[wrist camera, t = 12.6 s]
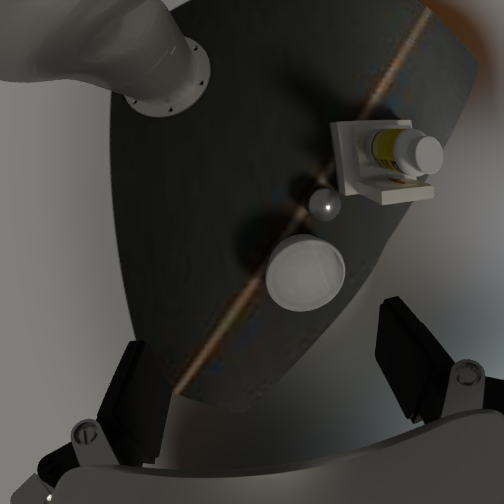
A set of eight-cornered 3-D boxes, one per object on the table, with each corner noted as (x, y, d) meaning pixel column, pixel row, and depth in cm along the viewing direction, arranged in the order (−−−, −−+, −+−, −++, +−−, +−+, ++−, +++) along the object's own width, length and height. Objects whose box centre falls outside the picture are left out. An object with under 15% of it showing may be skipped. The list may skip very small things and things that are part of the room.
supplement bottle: (364, 161, 32) (404, 170, 23) (373, 122, 30) (415, 119, 21) (397, 174, 33) (441, 187, 23) (406, 137, 31) (452, 140, 22)
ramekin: (348, 251, 42) (360, 265, 37) (306, 304, 45) (313, 323, 40) (290, 213, 39) (298, 223, 35) (249, 273, 43) (250, 290, 38)
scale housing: (328, 122, 35) (356, 117, 25) (401, 120, 34) (440, 118, 25) (338, 192, 38) (366, 208, 29) (407, 184, 38) (445, 197, 29)
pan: (349, 127, 32) (354, 126, 30) (403, 125, 32) (410, 125, 30) (355, 175, 34) (360, 177, 33) (408, 170, 34) (414, 172, 32)
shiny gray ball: (302, 188, 38) (307, 191, 35) (332, 184, 38) (339, 187, 35) (306, 218, 40) (311, 223, 37) (335, 213, 40) (342, 218, 37)
